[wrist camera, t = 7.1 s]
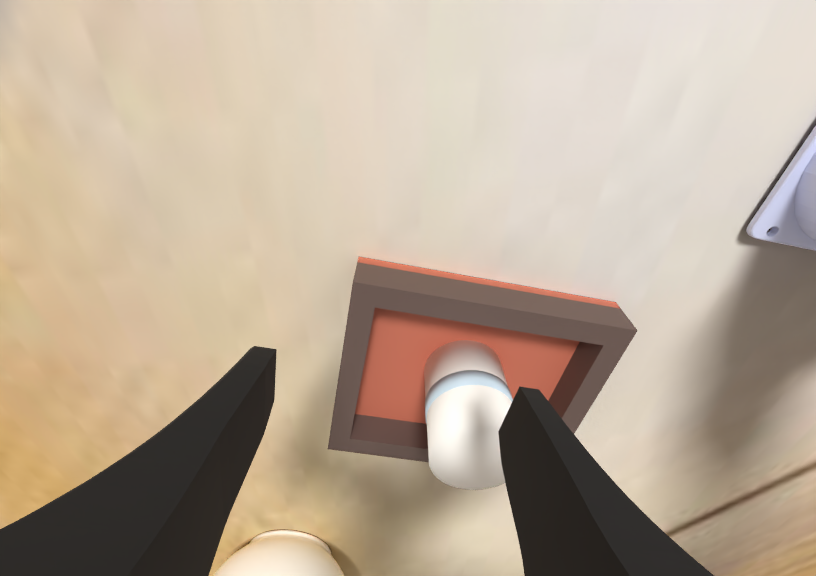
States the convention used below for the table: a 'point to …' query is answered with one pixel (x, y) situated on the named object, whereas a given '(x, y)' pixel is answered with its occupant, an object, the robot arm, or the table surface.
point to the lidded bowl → (282, 556)
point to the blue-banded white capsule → (465, 414)
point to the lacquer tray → (452, 321)
